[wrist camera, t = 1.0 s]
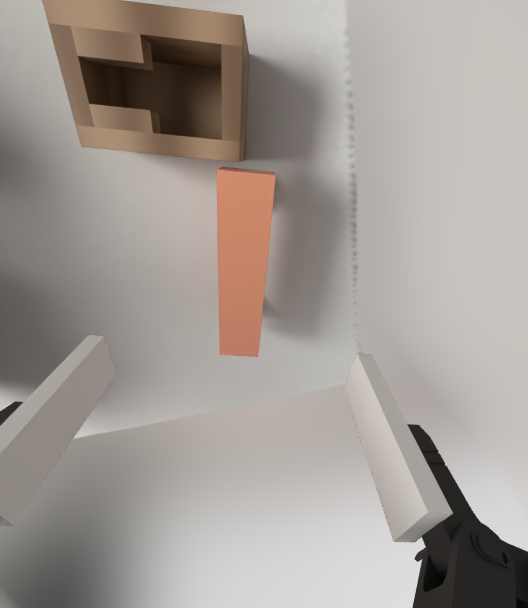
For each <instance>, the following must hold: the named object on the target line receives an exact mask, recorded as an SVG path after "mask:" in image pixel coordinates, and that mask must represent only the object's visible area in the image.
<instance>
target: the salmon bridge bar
mask: <svg viewBox="0 0 528 608" xmlns="http://www.w3.org/2000/svg"><path fill="white" fill-rule="evenodd" d="M275 179H276V175H275V173H274V172H268V171H258V170H248V169H237V168H227V167H222V168H219V169H217V216H218V273H219V331H220V354H221V355H237V356H254V357H258V352H259V342H260V331H261V321H262V311H263V301H264V291H265V281H266V270H267V260H268V250H269V240H270V230H271V219H272V209H273V199H274V189H275Z"/></svg>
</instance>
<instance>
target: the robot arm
mask: <svg viewBox="0 0 528 608" xmlns="http://www.w3.org/2000/svg"><path fill="white" fill-rule="evenodd" d="M116 374H117V372H116V369H115V366H114V363H113V360H112V357H111V354H110V351H109V349H108V346H107V343H106V340H105V337H104V336H97V335H88V336H87V337H86V338H85V339H84V340H83V341H82V342H81V343H80V344H79V345H78V346H77V348H76V349H75V350H74V351H73V352H72V353H71V354H70V355H69V356H68V357H67V358H66V359H65V360H64V361H63V362H62V363H61V364H60V365H59V366H58V367H57V368H56V369H55V370H54V371H53V372H52V373H51V374H50V375H49V376H48V377H47V378H46V379H45V380H44V381H43V383H42V384H41V385H40V386H39V387H38V388H37V389H36V390H35V391H34V392H33V393H32V394H31V395H30V396H29V397H28V398H27V399H26V400H25V401H24V402H14V403H12V404H11V405H9V406H8V407H6V408H5V409H3V410H2V411H0V525H4V526H14V525H15V524H16V522H17V521H18V519H19V518H20V516H21V515H22V513H23V512H24V510H25V509H26V507H27V506H28V504H29V503H30V502H31V500H32V499H33V497H34V496H35V494H36V493H37V491H38V490H39V488H40V487H41V485H42V484H43V482H44V481H45V479H46V478H47V476H48V475H49V473H50V472H51V470H52V469H53V468H54V466H55V465H56V463H57V462H58V460H59V458H60V457H61V456H62V454H63V453H64V451H65V450H66V448H67V447H68V445H69V444H70V442H71V441H72V439H73V438H74V436H75V435H76V433H77V432H78V430H79V429H80V428H81V426H82V425H83V423H84V422H85V420H86V419H87V417H88V416H89V414H90V413H91V411H92V410H93V408H94V407H95V405H96V404H97V402H98V401H99V399H100V398H101V396H102V395H103V393H104V392H105V390H106V389H107V388H108V386H109V385H110V383H111V382H112V380H113V379H114V377H115V376H116ZM344 391H345V393H346V397H347V400H348V403H349V406H350V409H351V412H352V415H353V418H354V421H355V424H356V427H357V431H358V433H359V437H360V440H361V443H362V446H363V449H364V452H365V455H366V458H367V461H368V464H369V467H370V470H371V474H372V477H373V480H374V483H375V486H376V489H377V492H378V495H379V498H380V501H381V504H382V507H383V511H384V514H385V517H386V520H387V523H388V526H389V529H390V532H391V535H392V538H393V541H395V542H416V541H417V540H418V539H420V538H421V537H422V539H423V541H424V544H425V546H426V548H424V549H423V550H421V551H420V552H418V553H417V555H416V557H415V560H416V561H417V562H418V561H420V560H421V559H422V563H421V568H420V573H419V579H418V584H417V588H416V593H415V598H414V603H413V608H528V552H527V551H525V550H522V549H520V548H518V547H515V546H513V545H510V544H508V543H506V542H504V541H502V540H500V538H499V537H498V536H497V535H496V534H495V533H494V532H493V531H492V530H491V529H490V528H489V527H487V526H486V525H484V524H482V523H481V522H480V521H479V520H478V518H477V517H476V516H475V514H474V513H473V511H472V510H471V508H470V506H469V504H468V503H467V501H466V499H465V497H464V495H463V494H462V492H461V490H460V489H459V487H458V485H457V483H456V482H455V480H454V478H453V476H452V475H451V473H450V471H449V469H448V468H447V466H445V463H444V461H443V459H442V457H441V455H440V454H439V453H438V450H437V449H436V447H435V445H434V443H433V441H432V440H431V438H430V437H429V435H428V434H427V433H426V432H425V431H424V430H423V429H422V428H421V427H420V426H419V425H410V424H409V425H408V424H407V423H406V421H405V419H404V417H403V415H402V414H401V412H400V409H399V408H398V406H397V404H396V402H395V400H394V398H393V396H392V394H391V392H390V390H389V388H388V386H387V384H386V382H385V380H384V378H383V376H382V374H381V373H380V371H379V369H378V367H377V365H376V363H375V361H374V359H373V357H372V355H367V354H357V356H356V358H355V361H354V363H353V366H352V368H351V371H350V373H349V376H348V378H347V381H346V383H345V386H344Z"/></svg>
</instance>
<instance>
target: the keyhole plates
mask: <svg viewBox="0 0 528 608" xmlns="http://www.w3.org/2000/svg"><path fill="white" fill-rule="evenodd" d="M42 1H43V5H44V9H45V12H46V16H47V20H48V24H49V27H50V31H51V35H52V38H53V42H54V46H55V50H56V53H57V57H58V61H59V65H60V68H61V72H62V76H63V80H64V83H65V87H66V91H67V95H68V98H69V102H70V106H71V110H72V113H73V117H74V121H75V124H76V128H77V132H78V136H79V139H80V143H81V147H88V148H98V149H108V150H118V151H128V152H139V153H149V154H159V155H169V156H180V157H190V158H200V159H210V160H220V161H231V162H241V161H243V160H245V144H246V117H247V90H248V62H249V51H248V45H247V38H246V32H245V25H244V19H243V16H242V15H234V14H226V13H218V12H210V11H202V10H194V9H186V8H178V7H170V6H162V5H154V4H146V3H138V2H130V1H122V0H42Z"/></svg>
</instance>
